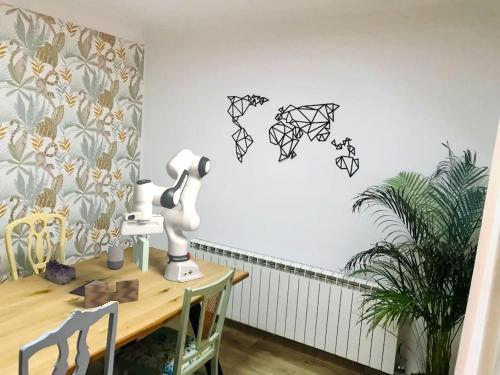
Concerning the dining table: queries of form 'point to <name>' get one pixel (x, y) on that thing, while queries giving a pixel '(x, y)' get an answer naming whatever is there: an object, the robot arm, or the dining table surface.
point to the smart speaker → (115, 258)
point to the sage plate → (141, 253)
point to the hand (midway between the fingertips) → (140, 243)
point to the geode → (59, 272)
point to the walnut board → (100, 295)
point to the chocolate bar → (81, 289)
